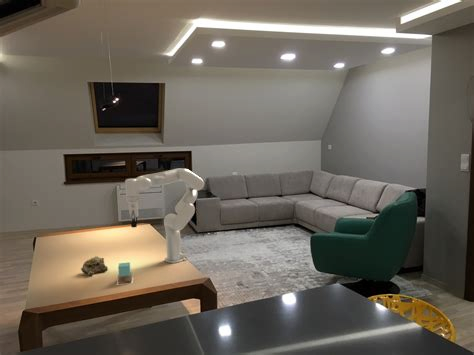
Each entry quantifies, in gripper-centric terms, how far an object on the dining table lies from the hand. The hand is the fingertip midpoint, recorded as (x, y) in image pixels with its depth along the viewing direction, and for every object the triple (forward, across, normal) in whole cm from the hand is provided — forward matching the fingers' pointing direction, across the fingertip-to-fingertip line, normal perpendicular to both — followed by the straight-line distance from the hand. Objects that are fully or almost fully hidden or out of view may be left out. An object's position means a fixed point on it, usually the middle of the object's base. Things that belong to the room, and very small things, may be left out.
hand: (134, 225), depth 248 cm
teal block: (+23, -23, +6) cm, 33 cm away
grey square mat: (+28, -23, +6) cm, 37 cm away
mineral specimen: (+29, 0, +26) cm, 39 cm away
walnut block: (+27, -23, +6) cm, 36 cm away
